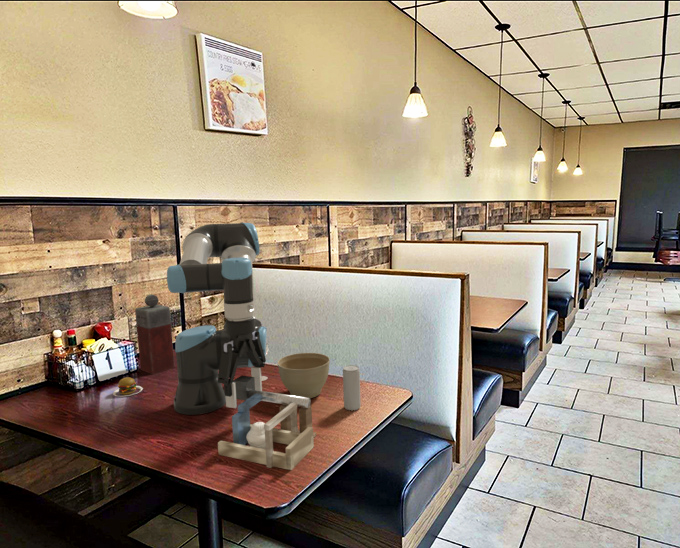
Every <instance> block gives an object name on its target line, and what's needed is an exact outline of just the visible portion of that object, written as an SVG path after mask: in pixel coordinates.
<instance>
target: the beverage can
mask: <svg viewBox="0 0 680 548" xmlns="http://www.w3.org/2000/svg"><path fill="white" fill-rule="evenodd" d="M342 369H343V370H342V383H343V384H342V386H343V387H342V388H343V408H345V410H347V411H350V410H351V411H350V412H353V410H354V411H357V410H359V409H360V408H361V407H362V406H361V402H362V401H361V376H360V375H361V372H360V370H361V369H360V367H359V366H358V365H356V364H355V365H353V364H350V365H345V366H343V368H342Z"/></svg>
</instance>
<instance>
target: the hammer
mask: <svg viewBox="0 0 680 548" xmlns="http://www.w3.org/2000/svg"><path fill="white" fill-rule="evenodd" d="M233 382H234V383H235V386H236V400H241V401H242V402H240V403H239V404H238V405H237V412H236V413H234V415H232V416H231V422H232V423H231V425H232V440H233V442H232V443H236V444H241V445H246V444H248V441H247V438H246V436H247V434H248V432H249V431H250V430H251V429H250V424H251V416H250V413H251V412H250V410H251V408H253V407H254V406H256V405H257V404H258V403H260V402H268V403H274V404H281V405H283V404H287V405H290V404H291V403H297V407H300V408H302V407H306V408H308V407H309V406H311V401H312V400H311V398H306V397H299V396H293V395H290V394H284V393H279V392H270V391H264V390H262V391H258V390H255V379H254V377H252V376H249V375H248V376H247V375H239V376H238V377H237V378H234V380H233Z"/></svg>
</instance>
